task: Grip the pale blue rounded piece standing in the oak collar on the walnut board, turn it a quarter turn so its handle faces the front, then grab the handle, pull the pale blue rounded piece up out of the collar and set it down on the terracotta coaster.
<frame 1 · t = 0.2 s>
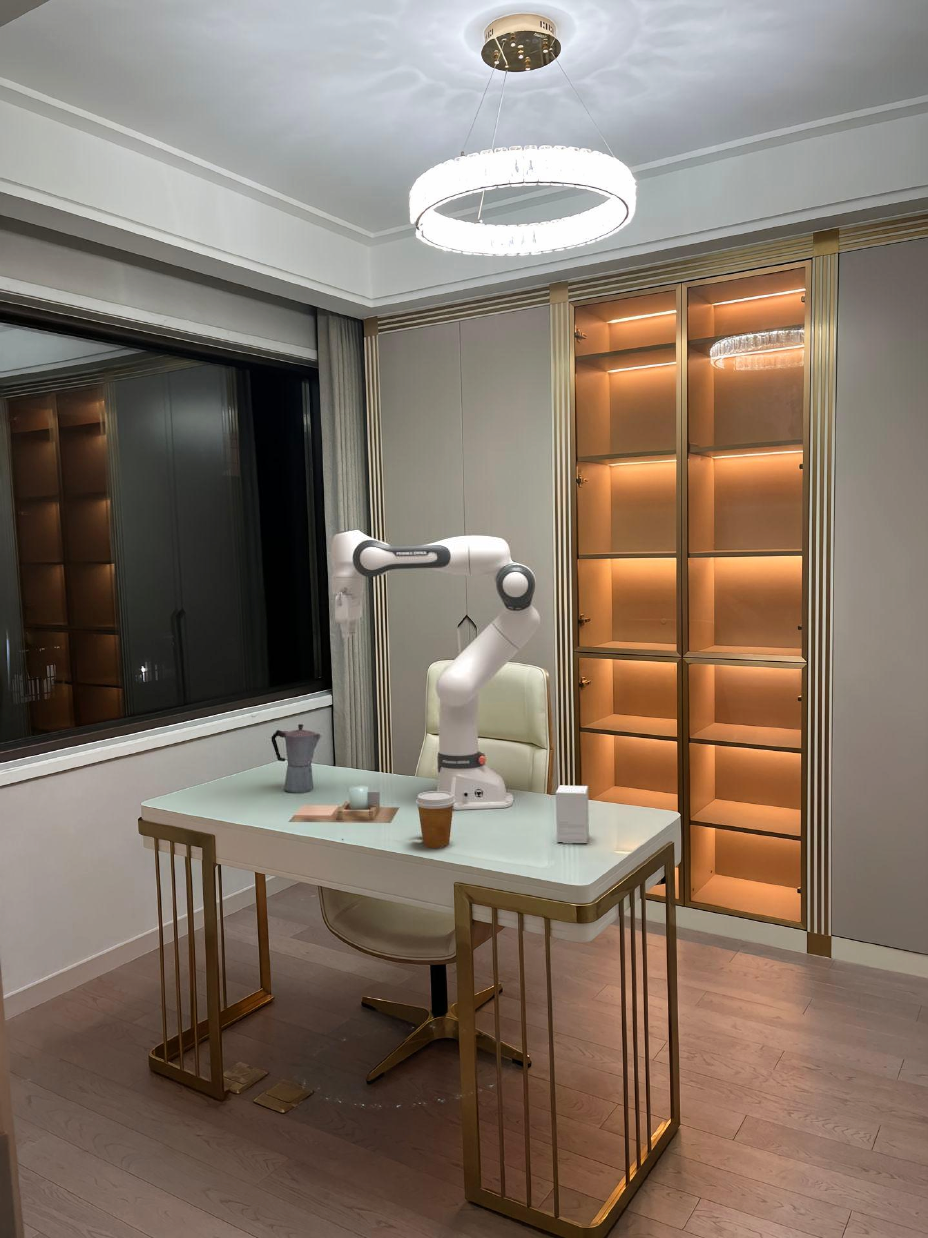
hand: (349, 636, 266), 47 cm above the table, tool pointing down, fingers open, 8 cm apart
disposable coffee cup: (436, 845, 227), on the table
terracotta coaster: (316, 813, 253), resting on walnut board
moka pot: (297, 790, 283), on the table
pale blue rounded piece: (359, 815, 250), point 1 cm above the table, touching walnut board
walnut board: (345, 818, 251), on the table
supplement box: (572, 840, 229), on the table
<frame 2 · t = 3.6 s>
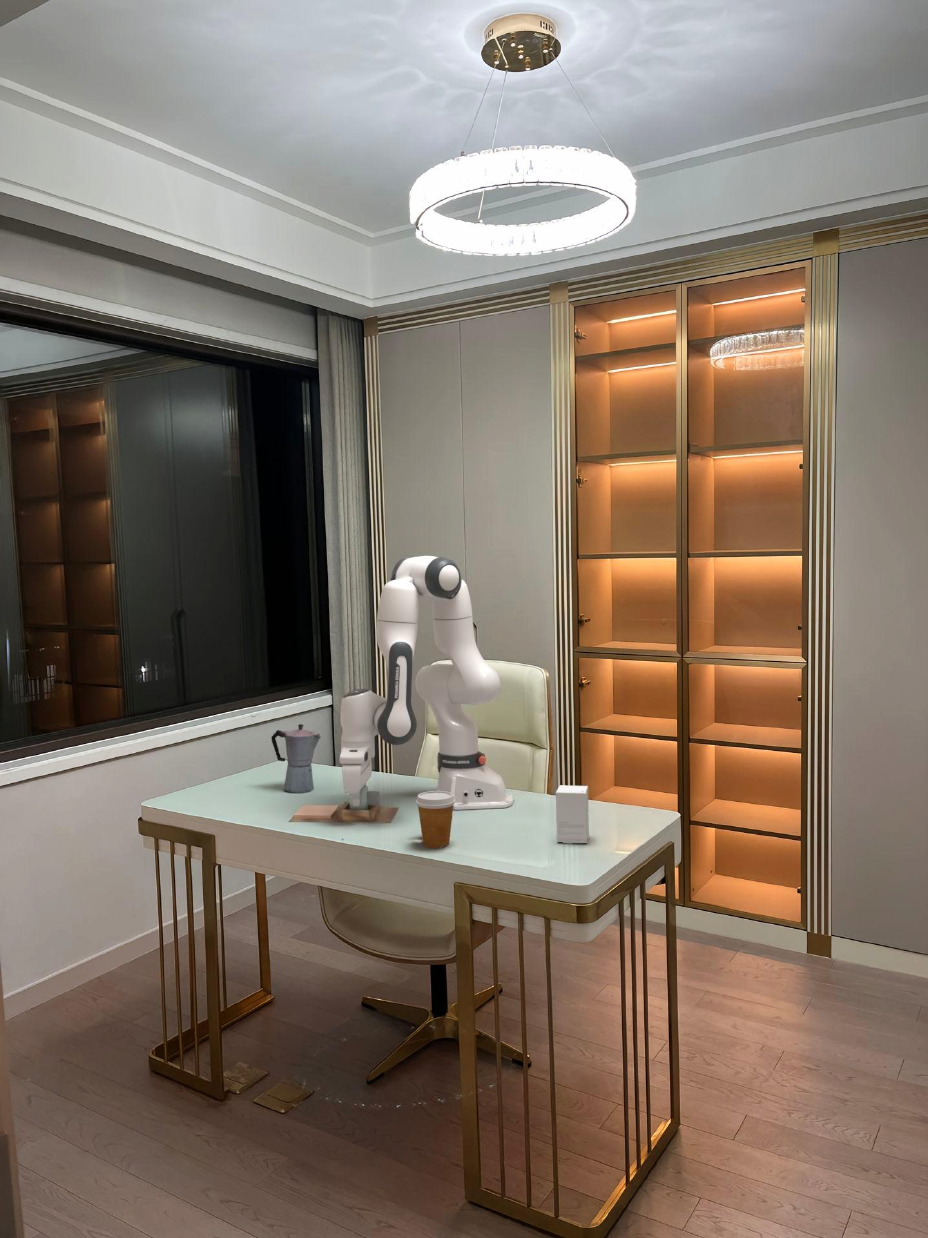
hand: (359, 802, 250), 5 cm above the table, tool pointing down, fingers closed on pale blue rounded piece, 5 cm apart
pale blue rounded piece: (359, 815, 250), point 1 cm above the table, touching gripper, walnut board
everything else where it was.
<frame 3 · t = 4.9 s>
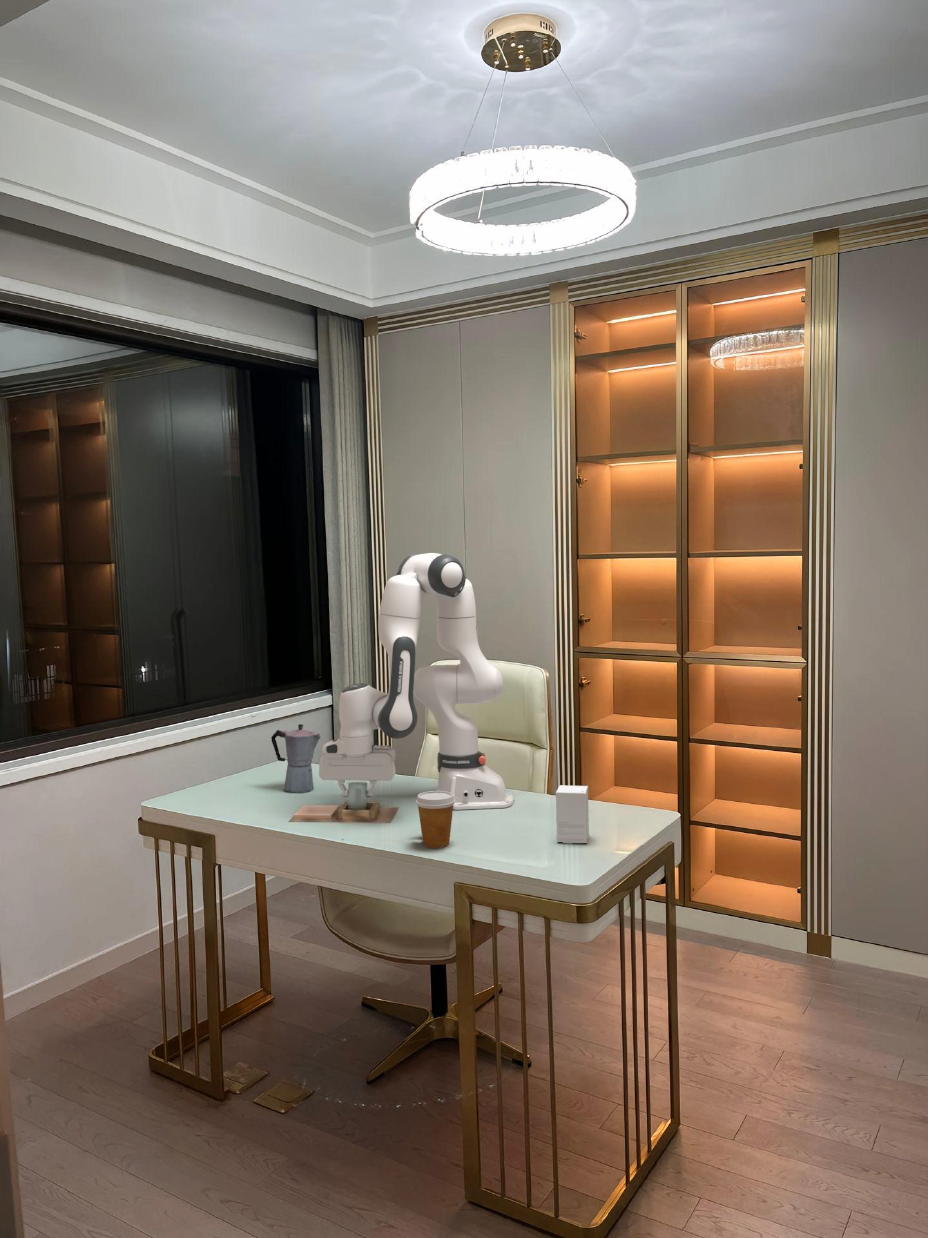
hand: (357, 796, 250), 6 cm above the table, tool pointing down, fingers closed on pale blue rounded piece, 5 cm apart
pale blue rounded piece: (357, 811, 250), point 2 cm above the table, tilted 7°, touching gripper
everything else where it was.
when the fingers open (5 cm above the table, at t = 6.0 s): pale blue rounded piece stays where it is, resting on walnut board.
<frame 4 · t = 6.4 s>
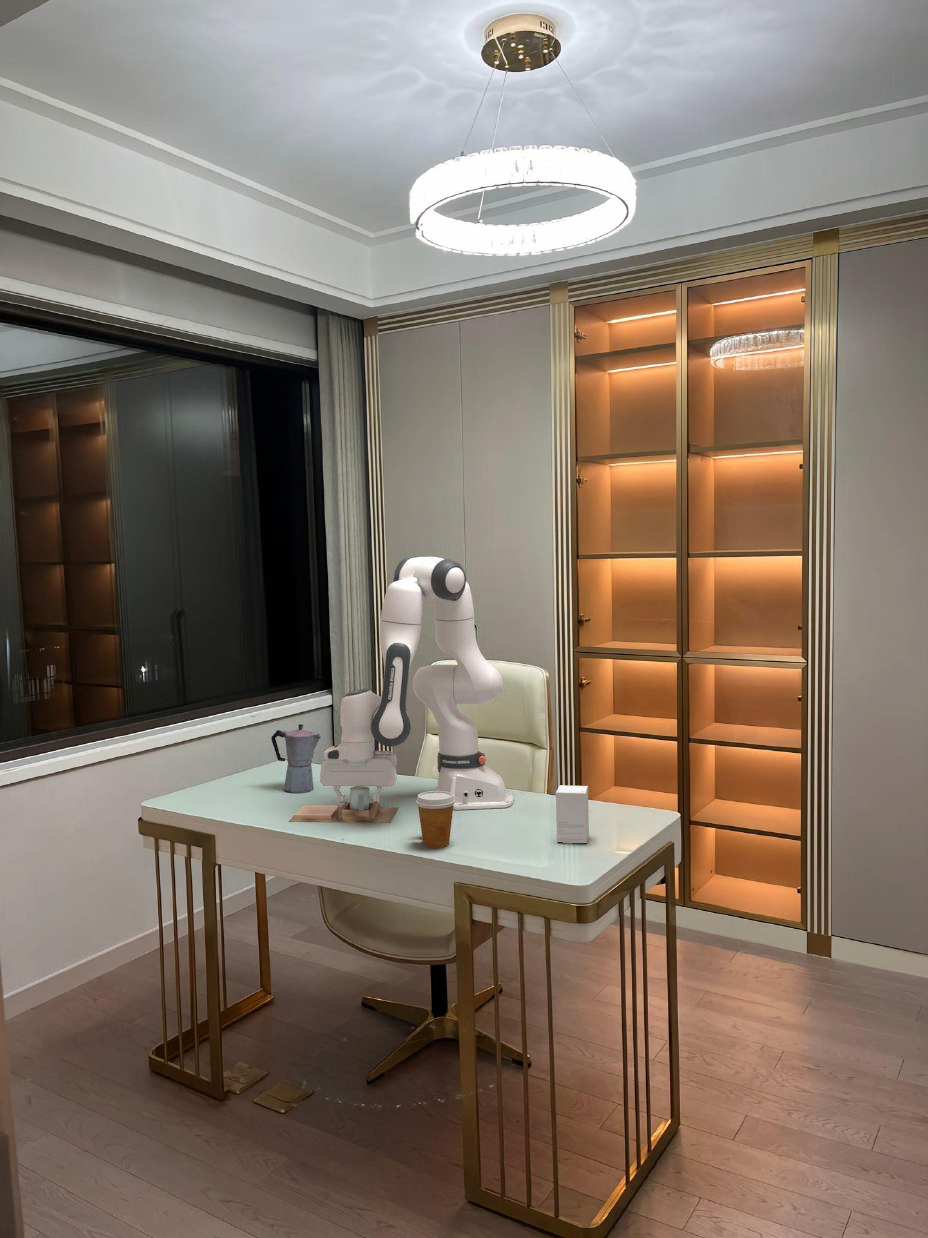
hand: (359, 802, 250), 5 cm above the table, tool pointing down, fingers open, 8 cm apart
pale blue rounded piece: (359, 816, 249), point 1 cm above the table, touching walnut board
everything else where it was.
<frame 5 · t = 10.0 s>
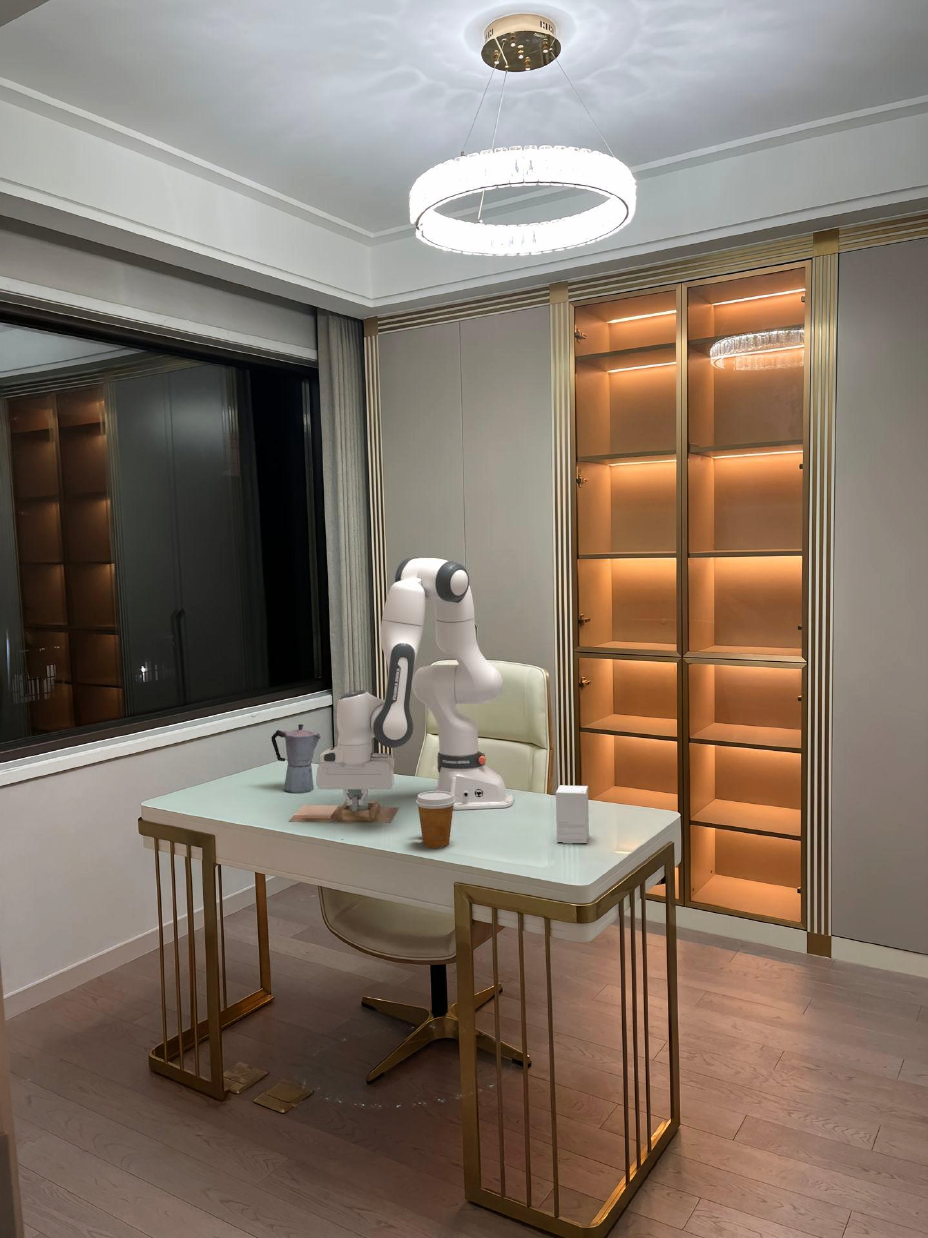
hand: (355, 805, 245), 5 cm above the table, tool pointing down, fingers closed on pale blue rounded piece
pale blue rounded piece: (358, 816, 249), point 1 cm above the table, touching gripper, walnut board
everything else where it was.
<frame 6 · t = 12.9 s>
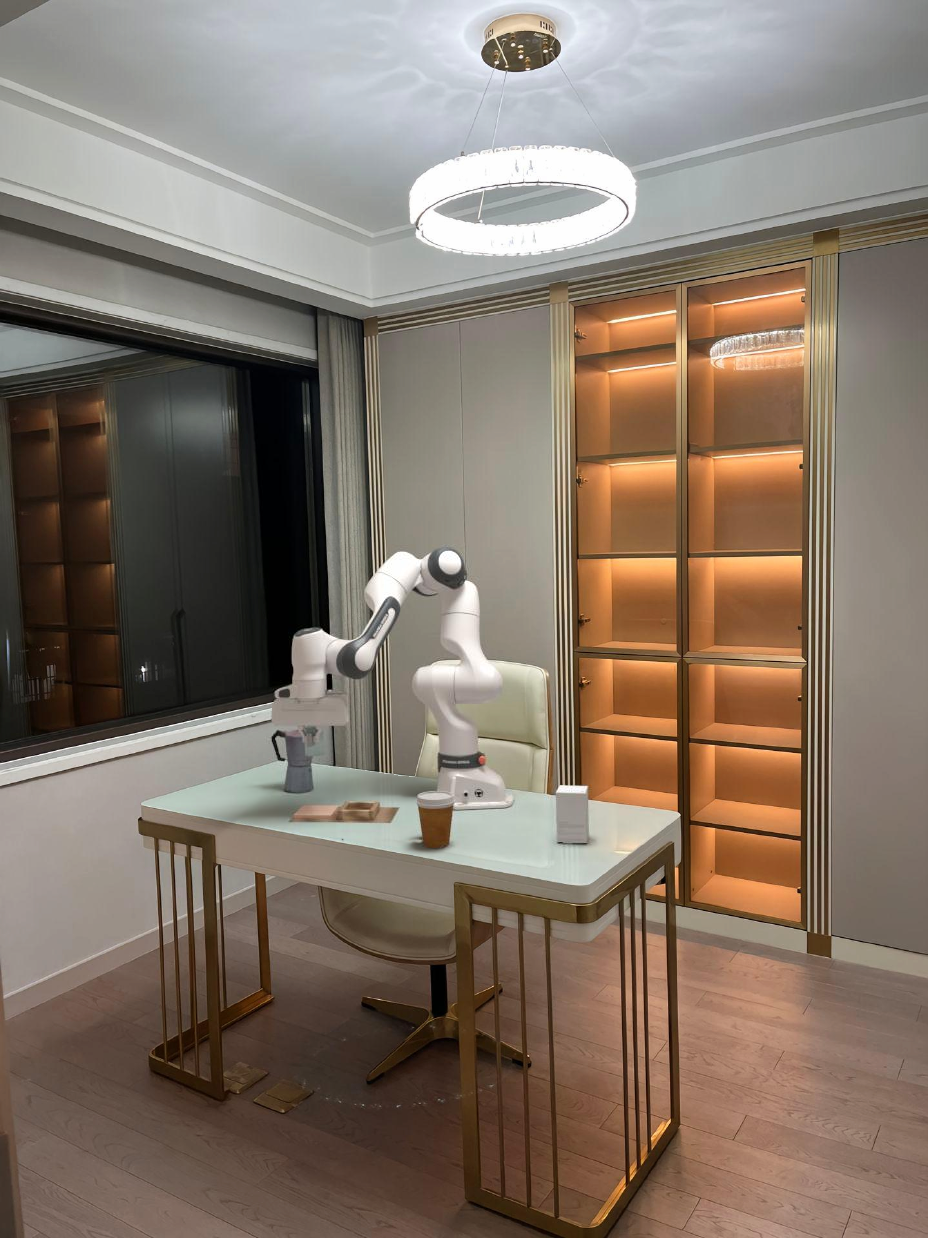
hand: (311, 742, 247), 21 cm above the table, tool pointing down, fingers closed on pale blue rounded piece
pale blue rounded piece: (314, 754, 251), point 17 cm above the table, touching gripper
everything else where it was.
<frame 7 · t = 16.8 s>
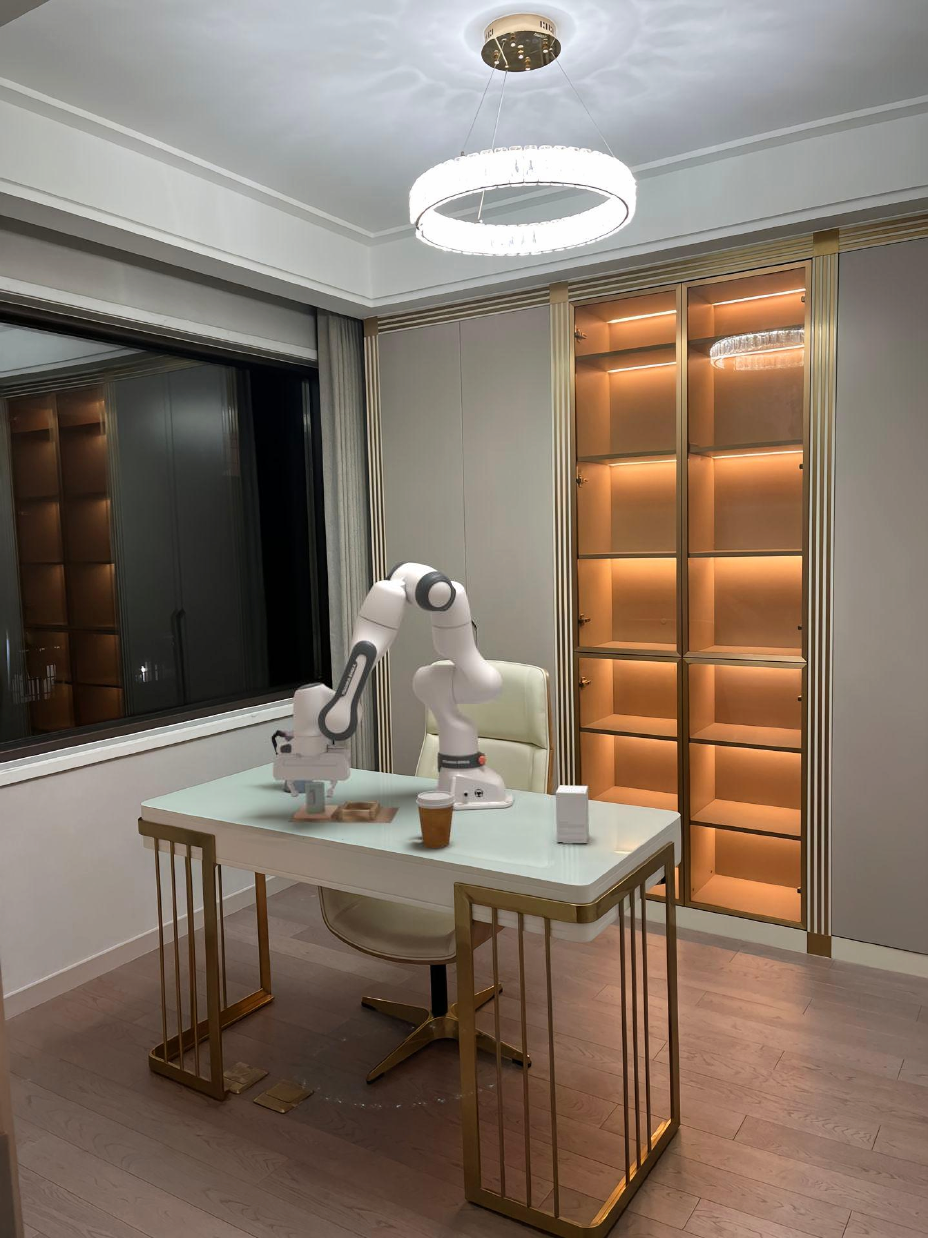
hand: (312, 796, 248), 7 cm above the table, tool pointing down, fingers open, 8 cm apart
pale blue rounded piece: (315, 811, 252), point 2 cm above the table, touching terracotta coaster
everything else where it was.
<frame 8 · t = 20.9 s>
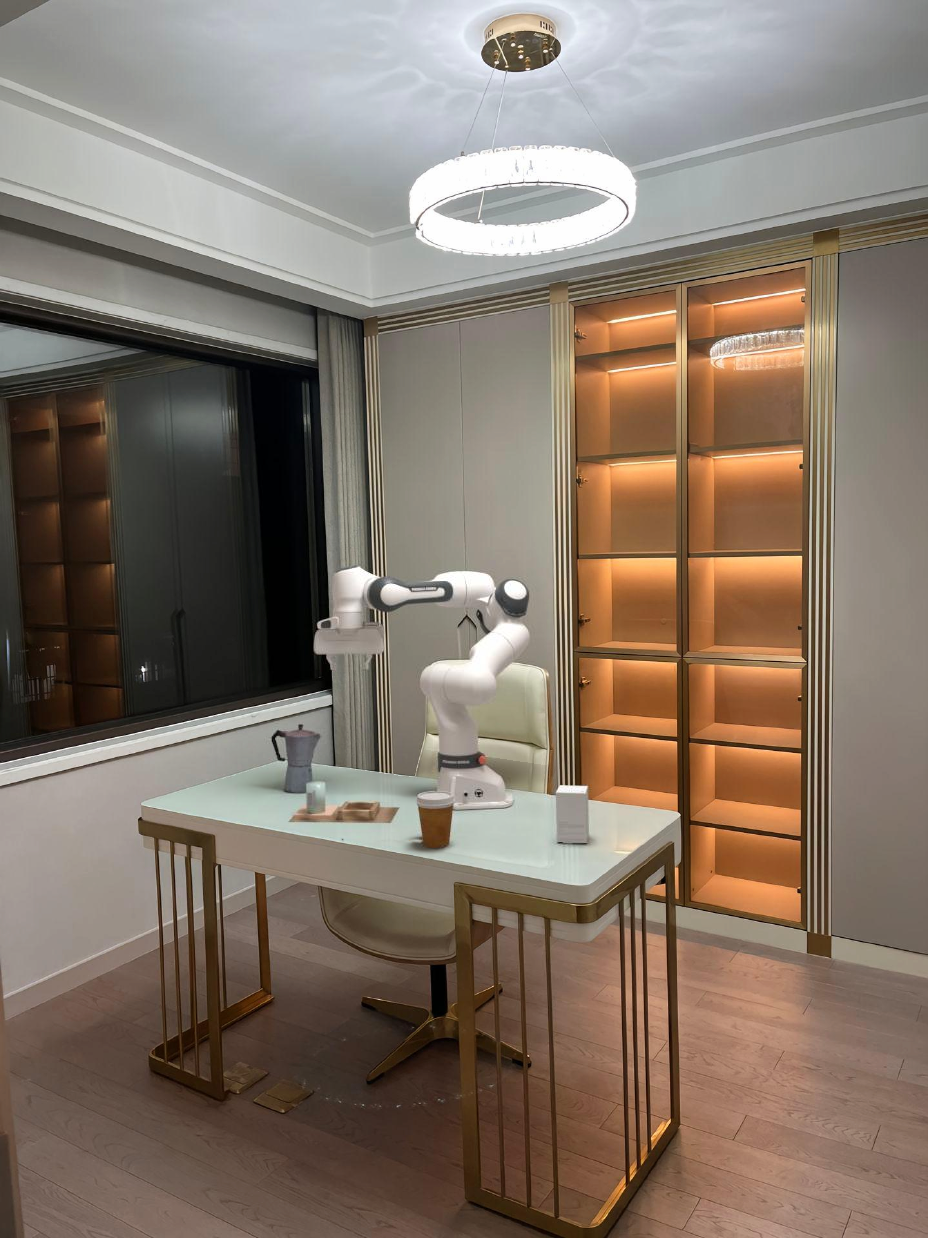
hand: (349, 669, 273), 37 cm above the table, tool pointing down, fingers open, 8 cm apart
nothing on the table moved.
at the end: pale blue rounded piece inside the target area on the terracotta coaster (1.2 cm from its centre), point 0.9 cm above the terracotta coaster's base; pale blue rounded piece tilted 2°; the gripper is holding nothing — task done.
